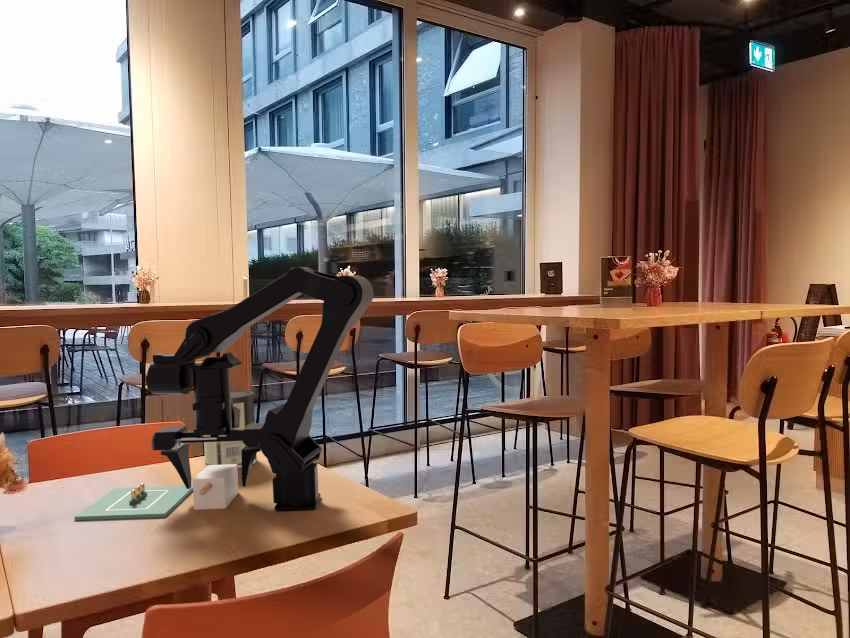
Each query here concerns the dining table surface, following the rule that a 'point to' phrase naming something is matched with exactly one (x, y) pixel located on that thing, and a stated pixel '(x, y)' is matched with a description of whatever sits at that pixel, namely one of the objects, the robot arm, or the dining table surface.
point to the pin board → (136, 503)
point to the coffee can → (232, 449)
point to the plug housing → (215, 486)
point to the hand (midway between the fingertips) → (217, 487)
